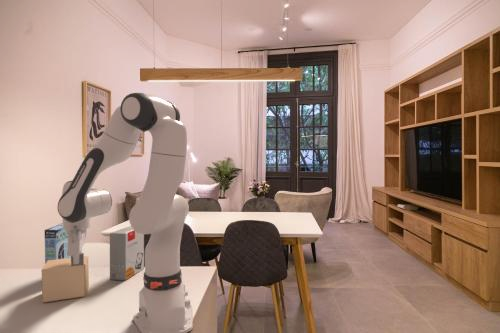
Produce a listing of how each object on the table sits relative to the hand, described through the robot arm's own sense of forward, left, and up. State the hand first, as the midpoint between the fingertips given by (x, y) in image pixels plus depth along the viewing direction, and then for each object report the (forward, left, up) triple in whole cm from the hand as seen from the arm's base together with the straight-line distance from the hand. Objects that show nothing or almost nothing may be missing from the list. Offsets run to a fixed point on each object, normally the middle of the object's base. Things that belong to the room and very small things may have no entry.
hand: (77, 261), depth 119 cm
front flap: (0, +5, -13) cm, 14 cm away
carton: (+6, +5, -14) cm, 16 cm away
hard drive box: (+19, -17, -14) cm, 29 cm away
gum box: (+27, +9, -14) cm, 32 cm away
